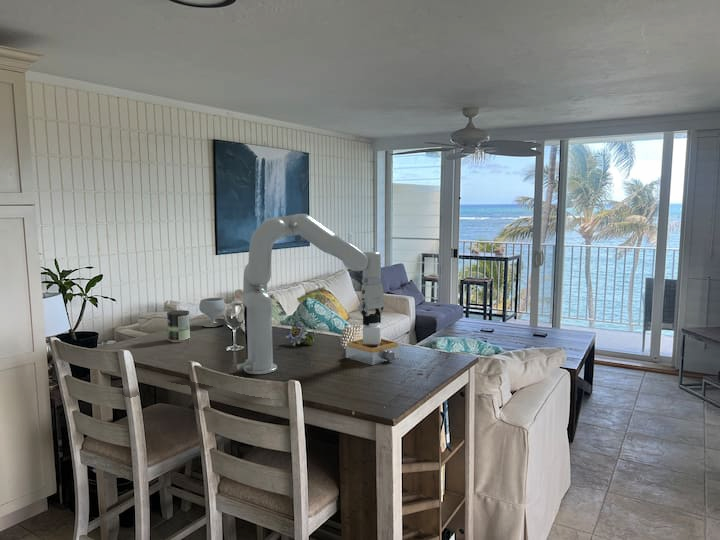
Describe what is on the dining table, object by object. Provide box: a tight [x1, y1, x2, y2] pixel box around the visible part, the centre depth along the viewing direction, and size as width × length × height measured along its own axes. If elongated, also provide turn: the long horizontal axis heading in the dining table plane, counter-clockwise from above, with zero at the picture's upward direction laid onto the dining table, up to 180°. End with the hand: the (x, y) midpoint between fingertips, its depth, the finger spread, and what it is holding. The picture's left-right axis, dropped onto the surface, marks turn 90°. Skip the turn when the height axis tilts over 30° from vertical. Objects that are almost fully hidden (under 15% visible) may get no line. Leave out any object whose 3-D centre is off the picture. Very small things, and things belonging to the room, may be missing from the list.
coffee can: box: [166, 309, 191, 340], centre depth 249 cm, size 10×10×14 cm
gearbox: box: [345, 338, 400, 366], centre depth 214 cm, size 16×19×6 cm
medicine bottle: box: [362, 313, 382, 344], centre depth 214 cm, size 7×7×12 cm
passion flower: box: [285, 322, 316, 347], centre depth 239 cm, size 11×11×12 cm
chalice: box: [198, 297, 226, 324], centre depth 282 cm, size 14×14×15 cm
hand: (371, 323), depth 213 cm, fingers closed on medicine bottle, 6 cm apart
